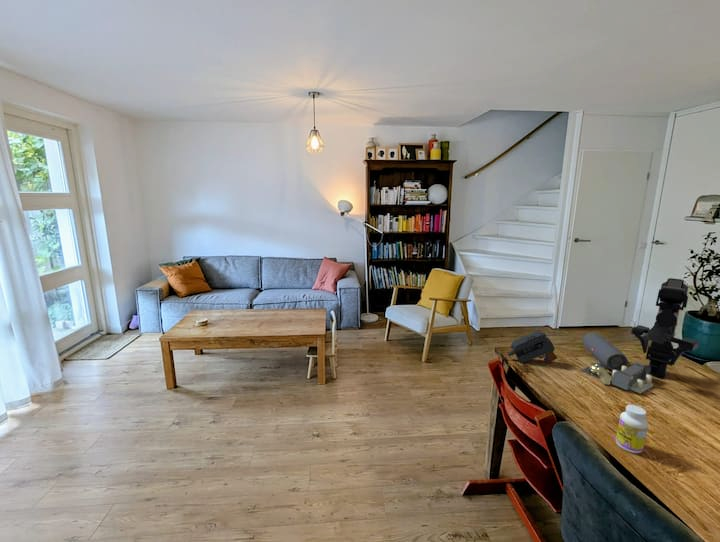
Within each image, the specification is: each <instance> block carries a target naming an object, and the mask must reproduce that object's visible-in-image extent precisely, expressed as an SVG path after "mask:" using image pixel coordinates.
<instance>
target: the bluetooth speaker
mask: <svg viewBox="0 0 720 542" xmlns="http://www.w3.org/2000/svg"><path fill="white" fill-rule="evenodd" d="M582 344H583V346H584V347H585V349H586V350H587V351H588V352H589V353H590V354H591V355H592V356H593V357H594V359H595V360H596V361H597V362H598V363H600V364H602V365H604V366H605V367H606V368H607V369H609V370H610V371H613V370H617V371H618V370H619V371H621V368H622V365H625V366H627V367H628V365H629V359H628V358H627V356H626V355H625V354H624V353H623V352H622V351H621V350H620V349H618V348H617V347H616V346H615V345H613V344H612V343H611V342H610V341H608V340H607V339H605V338H604V337H602V336H601V335H599V334H597V333H595V332H590V333H587V334H585V335H584V336H583V338H582Z"/></svg>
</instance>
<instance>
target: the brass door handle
mask: <svg viewBox="0 0 720 542" xmlns="http://www.w3.org/2000/svg"><path fill="white" fill-rule="evenodd" d="M588 367H589V371H590V372H592V373H594V374H597V375H598V377H599V378H600V379H599V380H601V382H602V383H603V385H611V381H610V380H611V377H612V376H610V375H609V374H608V372H609V371H607V369H608V368H607V367H605V366H604V365H602V364H601V363H600V362H591V363H589V366H588Z"/></svg>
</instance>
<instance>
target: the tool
mask: <svg viewBox="0 0 720 542" xmlns="http://www.w3.org/2000/svg"><path fill="white" fill-rule="evenodd" d="M509 348H510V349H511V350H510V351H508V352H507V355H508V356H509V357H510V356H513V355H515V357H516V359H517V360H518V362H519V363H521V364H522V363H525V362H529V361H531V360H533V359H536V358H538V359H543V360H544V362H545V364H549V363H551V362H553V361H556V360H557V358H558V357H557V355H556V354H555V346H554V344H553V342H552V341H551V339H550V338H549V337H547V335H546V333H545V332H544V331H543V332H542V331H541V330H536V331H534V332H532V333H529V334H526V335H524V336H522V337H519V338H517V339H514V340H513V341H512V342H511V345H509Z"/></svg>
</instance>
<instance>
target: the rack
mask: <svg viewBox="0 0 720 542" xmlns="http://www.w3.org/2000/svg"><path fill="white" fill-rule="evenodd" d="M627 368H628V365H627V366H625V365H622V368H621V371H623V370H625V369H627ZM616 371H617V370H612V372H611V373H612V376H611V380H610V383H612V380H613V375H614V372H616ZM652 378H653V375H649V374H646V379H645V380H643V379H642V380H641V379H638V380H637V383H635V384H633V385H632V388H630V389H629V390H630V391H633V392H636V393H638V394H642V393H643V392H645V391H647V390H648V389H650V388H652V387H653V386H654V383H653V382H652Z"/></svg>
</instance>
